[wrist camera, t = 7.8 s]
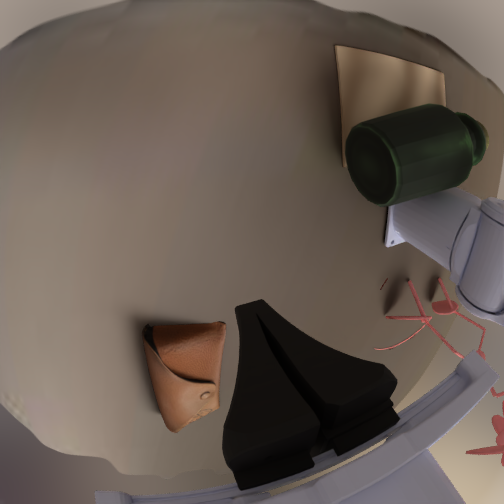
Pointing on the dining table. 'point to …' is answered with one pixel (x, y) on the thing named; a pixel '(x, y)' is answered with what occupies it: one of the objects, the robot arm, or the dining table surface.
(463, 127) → the potion bottle
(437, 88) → the placemat
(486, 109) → the dining table surface
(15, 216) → the dining table surface
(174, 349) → the sunglasses case
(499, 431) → the figurine
